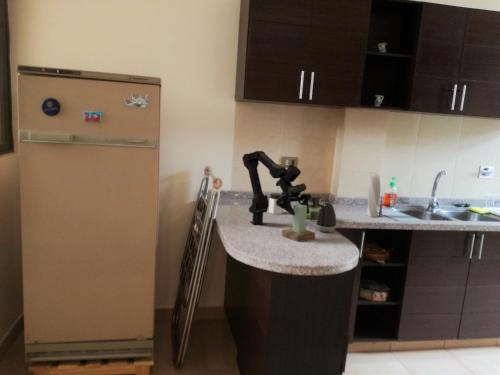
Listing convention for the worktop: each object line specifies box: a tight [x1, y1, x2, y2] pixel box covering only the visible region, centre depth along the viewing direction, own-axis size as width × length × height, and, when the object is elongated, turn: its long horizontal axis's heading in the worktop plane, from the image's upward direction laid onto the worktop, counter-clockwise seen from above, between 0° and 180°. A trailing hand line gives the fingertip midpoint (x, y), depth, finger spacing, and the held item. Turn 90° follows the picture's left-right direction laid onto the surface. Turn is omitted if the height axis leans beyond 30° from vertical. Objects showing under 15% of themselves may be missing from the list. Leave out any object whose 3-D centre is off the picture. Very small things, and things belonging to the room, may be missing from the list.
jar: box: [268, 192, 284, 215], centre depth 241 cm, size 9×8×12 cm
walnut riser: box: [281, 228, 316, 242], centre depth 185 cm, size 11×11×4 cm
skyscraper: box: [365, 172, 383, 219], centre depth 242 cm, size 8×8×28 cm
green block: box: [291, 204, 307, 233], centre depth 184 cm, size 4×4×12 cm
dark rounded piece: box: [315, 201, 337, 233], centre depth 198 cm, size 10×10×15 cm
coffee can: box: [306, 194, 322, 222], centre depth 226 cm, size 10×10×14 cm
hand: (301, 214), depth 182 cm, fingers open, 9 cm apart
